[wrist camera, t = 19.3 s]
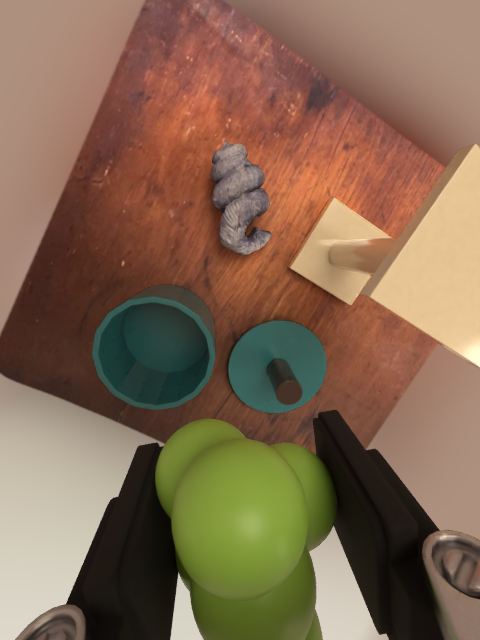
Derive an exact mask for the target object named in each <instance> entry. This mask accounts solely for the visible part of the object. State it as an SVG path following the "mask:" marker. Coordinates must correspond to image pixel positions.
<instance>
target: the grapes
mask: <svg viewBox="0 0 480 640" xmlns="http://www.w3.org/2000/svg"><path fill="white" fill-rule="evenodd" d="M155 486H156V491H157V496H158V499H159V501H160V504H161V506H162V508H163V509H164V511H165V512H166V513H167V515H168V516H169V517H170V518H171V524H172V534H173V540H174V544H175V559H176V564H177V569H178V572H179V574H180V577H181V579H182V581H183V583H184V584H185V586H186V588H187V589H188V590H189V591H190V597H191V605H192V610H193V614H194V618H195V621H196V624H197V626H198V629H199V632H200V633H201V635H202V637H203V639H204V640H323V639H322V632H321V627H320V623H319V619H318V616H317V613H316V610H315V604H316V578H315V572H314V567H313V563H312V559H311V556H310V554H309V551H311V550H313V549H314V548H316V547H317V546H319V545H320V544H321V543H322V542H323V541H324V540H325V539H326V538H327V536H328V535H329V533H330V531H331V529H332V527H333V525H334V522H335V519H336V515H337V507H338V501H337V495H336V490H335V486H334V483H333V480H332V477H331V474H330V472H329V470H328V468H327V467H326V465H325V464H324V463H323V462H322V460H321V459H320V458H319V457H318V456H317V455H315V454H314V453H313V452H312V451H310V450H308V449H307V448H305V447H303V446H300V445H297V444H293V443H277V444H273V445H270V446H268V445H266V444H264V443H261V442H259V441H255V440H251V439H246V437H245V436H244V435H243V434H242V433H241V432H240V431H239V430H238V429H237V428H235V427H234V426H232V425H231V424H229V423H227V422H224V421H221V420H217V419H200V420H196V421H193V422H190V423H188V424H186V425H184V426H183V427H181V428H180V429H178V430H177V431H176V432H175V433H174V434H173V435H172V436H171V437H170V438H169V439H168V441H167V442H166V444H165V445H164V447H163V449H162V451H161V453H160V455H159V458H158V461H157V466H156V472H155Z"/></svg>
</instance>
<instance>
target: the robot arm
mask: <svg viewBox="0 0 480 640" xmlns="http://www.w3.org/2000/svg"><path fill="white" fill-rule="evenodd" d="M313 426H314V435H315V445H316V454H317V456H318V457H319V458H320V459H321V460H322V462H323V463H324V464H325V465H326V467H327V468H328V470H329V472H330V474H331V477H332V480H333V483H334V486H335V490H336V495H337V501H338V507H337V515H336V519H335V522H334V527H335V530H336V532H337V534H338V537H339V539H340V541H341V544H342V546H343V549H344V552H345V554H346V557H347V559H348V562H349V564H350V566H351V569H352V571H353V574H354V576H355V579H356V581H357V584H358V586H359V588H360V591H361V593H362V596H363V598H364V601H365V603H366V605H367V608H368V610H369V613H370V615H371V618H372V620H373V623H374V625H375V627H376V629H377V631H378V633H379V634H380V635H381V634H387V636H388V638H389V640H480V540H479V539H477V538H475V537H473V536H470V535H468V534H465V533H462V532H457V531H452V530H443V531H440V530H439V529H438V528H437V526H436V525H435V524H434V523H433V521H432V520H431V519H430V517H429V516H428V515H427V513H426V512H425V511H424V509H423V508H422V507H421V506H420V504H419V503H418V502H417V501H416V499H415V498H414V497H413V495H412V494H411V493H410V491H409V490H408V489H407V487H406V486H405V485H404V484H403V482H402V481H401V480H400V478H399V477H398V476H397V474H396V473H395V472H394V470H393V469H392V468H391V467H390V465H389V464H388V463H387V461H386V460H385V459H384V458H383V456H382V455H381V454H380V453H379V452H378V450H376V449H371V450H365V449H364V447H363V446H362V445H361V443H360V442H359V440H358V439H357V437H356V436H355V435H354V433H353V432H352V430H351V429H350V428H349V426H348V425H347V423H346V422H345V421H344V419H343V418H342V416H341V415H340V414H339V412H338V411H337V410H331V411H326V412H320V413H318V418H314V419H313ZM163 447H164V446H163ZM163 447H160V446H159V444H158V443H151V444H146V445H141V446H138V448H137V450H136V453H135V455H134V458H133V460H132V463H131V465H130V468H129V471H128V473H127V475H126V478H125V480H124V483H123V485H122V488H121V491H120V493H119V496H118V497H115V498H113V499H111V500H110V502H109V504H108V506H107V508H106V510H105V513H104V515H103V517H102V520H101V522H100V525H99V527H98V529H97V532H96V534H95V536H94V539H93V541H92V544H91V546H90V548H89V551H88V553H87V556H86V558H85V560H84V563H83V565H82V567H81V570H80V572H79V575H78V577H77V579H76V582H75V584H74V586H73V589H72V591H71V594H70V596H69V598H68V601H67V603H66V604H65V605H61V606H58V607H55V608H52V609H50V610H48V611H47V612H45V613H44V614H41V615H40V616H39V617H38V618H36V619H35V620H34V621H33V622H31V623H30V624H29V625H28V626H27V627H26V628H25V629H24V631H22V632H21V634H20V635H19V636H18V637H17V638H16V639H15V640H170V637H171V628H172V620H173V611H174V603H175V595H176V587H177V579H178V569H177V564H176V559H175V544H174V540H173V534H172V524H171V518H170V517H169V516H168V515H167V513H166V512H165V511H164V509H163V508H162V506H161V504H160V501H159V499H158V496H157V491H156V486H155V472H156V466H157V461H158V458H159V455H160V453H161V451H162V449H163Z"/></svg>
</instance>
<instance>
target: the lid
mask: <svg viewBox="0 0 480 640" xmlns="http://www.w3.org/2000/svg"><path fill="white" fill-rule="evenodd" d="M326 367H327V361H326V354H325V351H324V348H323V346H322V344H321V342H320V341H319V339H318V338H317V337H316V336H315V334H314V333H312V332H311V331H310V330H309V329H308V328H306V327H304V326H303V325H301V324H298V323H296V322H292V321H287V320H272V321H267V322H264V323H261V324H258V325H256V326H254V327H252V328H251V329H250V330H248V331H247V332H246V333H244V334H243V335H242V336H241V337H240V339H239V340H238V341H237V342H236V344H235V345H234V347H233V349H232V351H231V354H230V357H229V363H228V374H229V380H230V383H231V386H232V388H233V390H234V392H235V394H236V395H237V396H238V397H239V398H240V399H241V400H242V401H243V402H244V403H245V404H247V405H248V406H250V407H251V408H253V409H256V410H258V411H262V412H267V413H282V412H287V411H291V410H294V409H296V408H298V407H300V406H302V405H303V404H305V403H306V402H308V401H309V400H310V399H311V398H312V397H313V396H314V395H315V394H316V393H317V391H318V390H319V388H320V387H321V385H322V383H323V380H324V377H325V374H326Z"/></svg>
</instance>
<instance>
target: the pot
mask: <svg viewBox="0 0 480 640" xmlns="http://www.w3.org/2000/svg"><path fill="white" fill-rule="evenodd" d="M92 357H93V360H94V364H95V367H96V370H97V374H98V376H99V378H100V379H101V380H102V382H103V383H104V384H105V385H106V387H107V388H108V389H109V390H110V392H111V393H112V394H113V395H115V396H116V397H118V398H120V399H122V400H123V401H125V402H127V403H129V404H130V405H132V406H135V407H141V408H146V409H152V410H160V409H166V408H172V407H178V406H180V405H182V404H183V403H185V402H187V401H188V400H190V399H192V398H194V397H195V396H197V395H198V394H199V392H200V391H201V390H202V389H203V387H204V386H205V385H206V383H207V382H208V381H209V379H210V378H211V374H212V370H213V366H214V362H215V358H216V331H215V324H214V319H213V315H212V314H211V312H210V310H209V308H208V307H207V305H206V304H205V303H204V301H203V300H202V299H201V298H200V297H198V296H197V295H196V294H194V293H193V292H191V291H190V290H187V289H185V288H182V287H179V286H174V285H157V286H153V287H148V288H146V289H144V290H143V291H141V292H140V293H138V294H136V295H135V296H133V297H131V298H130V299H128V300H127V301H125V302H124V303H122V304H121V305H119V306H118V307H116V308H115V309H113V310H111V311H110V312H109V313H108V314H107V315H106V317H105V318H104V320H103V321H102V323H101V324H100V326H99V327H98V329H97V330H96V332H95V337H94V343H93V350H92Z"/></svg>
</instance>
